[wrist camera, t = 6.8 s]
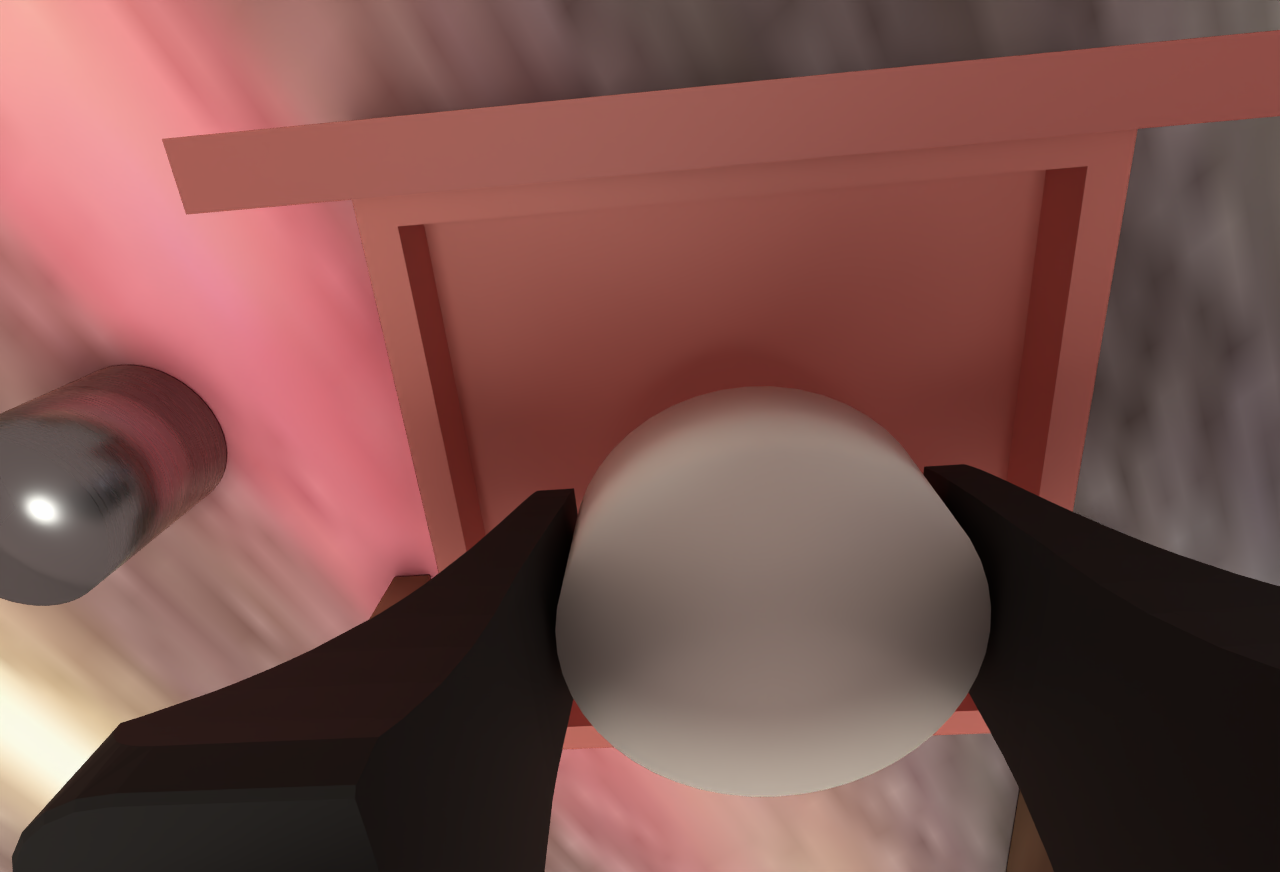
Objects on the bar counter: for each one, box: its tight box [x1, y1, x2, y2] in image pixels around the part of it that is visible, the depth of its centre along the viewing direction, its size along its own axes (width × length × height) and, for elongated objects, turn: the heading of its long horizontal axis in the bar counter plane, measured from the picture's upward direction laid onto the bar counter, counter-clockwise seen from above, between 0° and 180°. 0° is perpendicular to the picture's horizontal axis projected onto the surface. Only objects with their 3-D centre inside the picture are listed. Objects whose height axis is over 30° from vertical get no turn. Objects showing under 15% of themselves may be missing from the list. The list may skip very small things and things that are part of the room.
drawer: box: [162, 30, 1280, 749], centre depth 12 cm, size 13×12×5 cm
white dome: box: [555, 386, 991, 797], centre depth 10 cm, size 5×5×2 cm
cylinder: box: [0, 365, 226, 606], centre depth 13 cm, size 3×3×4 cm
